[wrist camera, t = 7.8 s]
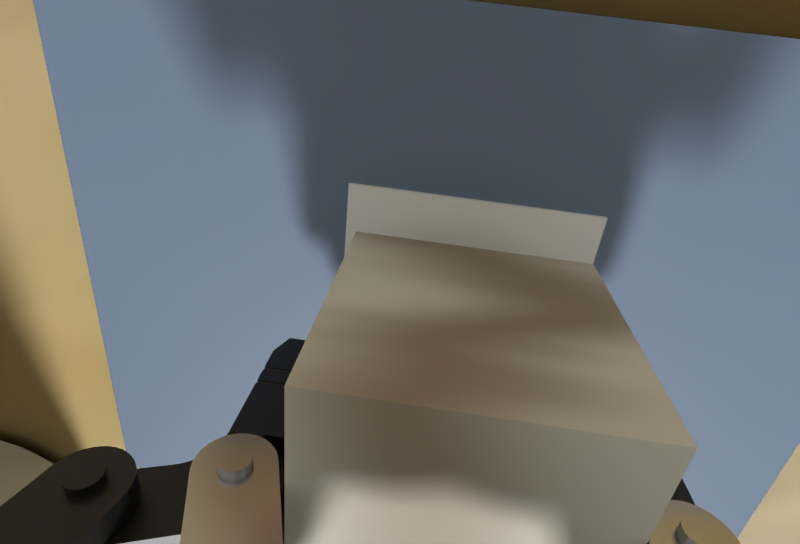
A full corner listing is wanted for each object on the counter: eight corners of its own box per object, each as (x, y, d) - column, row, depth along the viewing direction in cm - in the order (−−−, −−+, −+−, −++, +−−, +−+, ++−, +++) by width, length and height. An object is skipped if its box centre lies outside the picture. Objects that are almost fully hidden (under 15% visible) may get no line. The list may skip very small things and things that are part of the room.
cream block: (593, 264, 10) (698, 448, 6) (528, 466, 13) (565, 696, 9) (356, 231, 11) (283, 385, 6) (341, 437, 13) (284, 647, 9)
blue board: (994, 63, 10) (1051, 68, 9) (708, 532, 17) (723, 562, 16) (57, -47, 11) (18, -53, 10) (145, 443, 18) (127, 467, 17)
